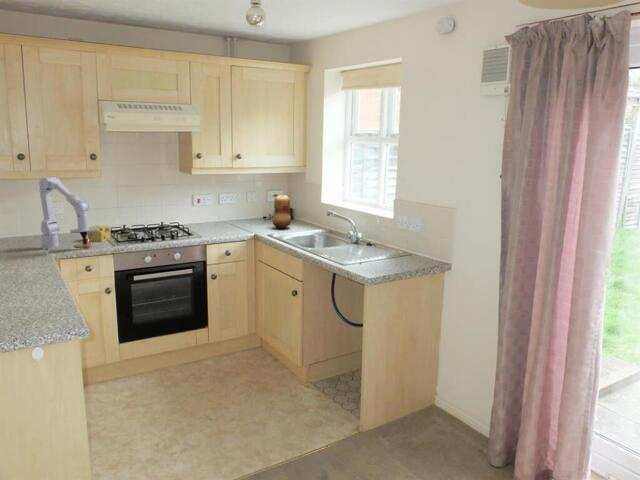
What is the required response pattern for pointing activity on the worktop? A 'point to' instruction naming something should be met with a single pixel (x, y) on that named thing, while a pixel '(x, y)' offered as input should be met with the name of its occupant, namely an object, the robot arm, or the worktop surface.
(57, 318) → the worktop surface
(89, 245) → the cam capstan
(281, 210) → the butternut squash
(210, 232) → the worktop surface
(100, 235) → the cheese
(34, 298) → the worktop surface
